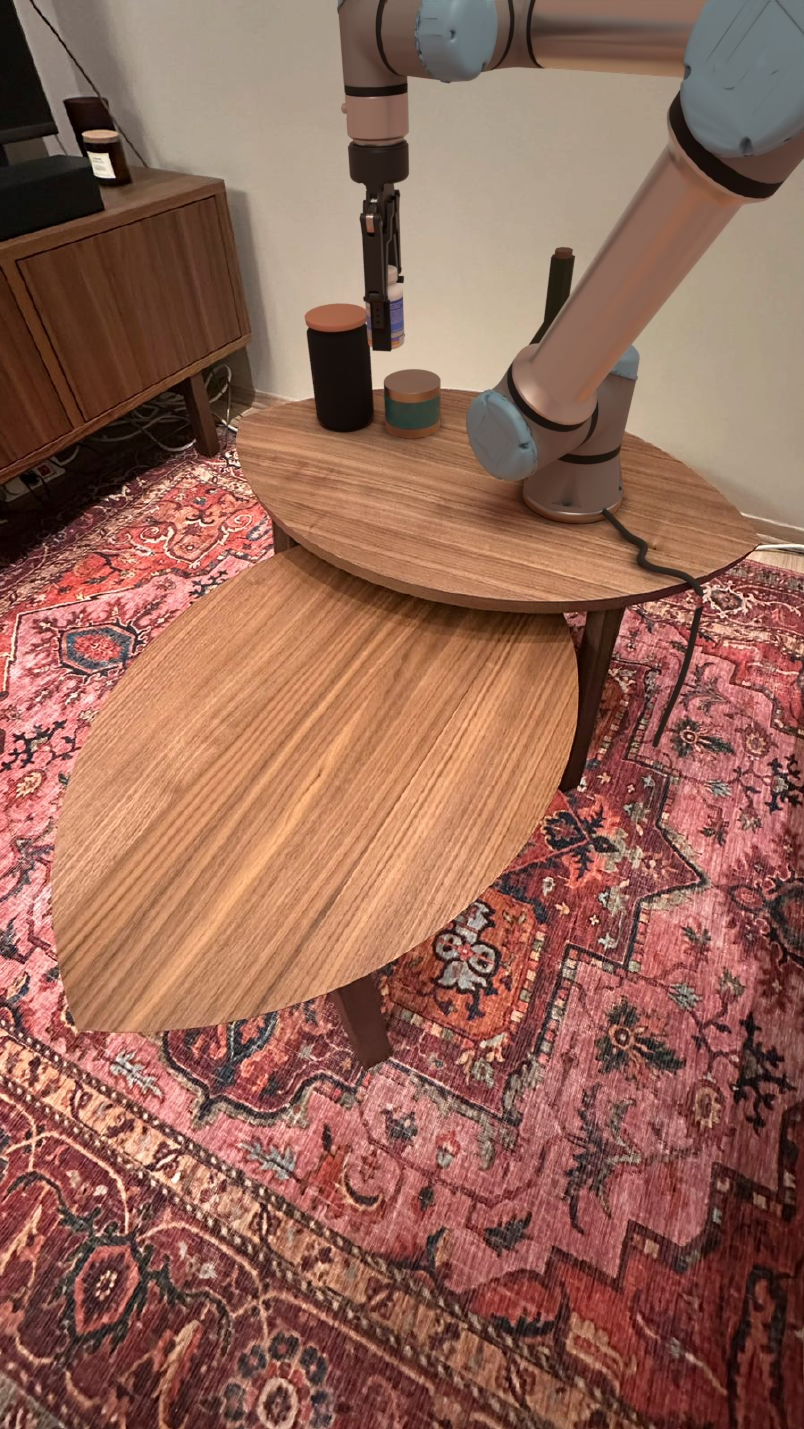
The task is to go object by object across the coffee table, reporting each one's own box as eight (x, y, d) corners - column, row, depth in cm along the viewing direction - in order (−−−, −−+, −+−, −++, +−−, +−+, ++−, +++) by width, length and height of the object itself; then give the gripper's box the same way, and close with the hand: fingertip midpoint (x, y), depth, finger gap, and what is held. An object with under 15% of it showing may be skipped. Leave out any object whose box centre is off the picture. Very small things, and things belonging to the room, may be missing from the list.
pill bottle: (405, 337, 103) (404, 262, 96) (403, 351, 99) (401, 274, 92) (369, 337, 103) (365, 262, 96) (366, 351, 100) (361, 275, 92)
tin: (450, 430, 124) (451, 385, 118) (400, 443, 121) (398, 398, 115) (424, 408, 130) (424, 364, 124) (376, 420, 127) (373, 376, 121)
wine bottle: (503, 456, 117) (521, 251, 95) (531, 438, 121) (554, 237, 99) (544, 471, 113) (574, 262, 91) (571, 452, 117) (606, 247, 95)
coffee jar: (341, 402, 133) (331, 299, 119) (385, 416, 128) (380, 310, 115) (305, 424, 127) (290, 318, 114) (350, 439, 123) (340, 330, 109)
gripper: (365, 125, 90) (375, 318, 108) (328, 155, 78) (346, 366, 96) (421, 125, 89) (422, 320, 107) (392, 155, 77) (399, 369, 95)
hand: (386, 341), depth 101 cm, fingers closed on pill bottle, 5 cm apart
